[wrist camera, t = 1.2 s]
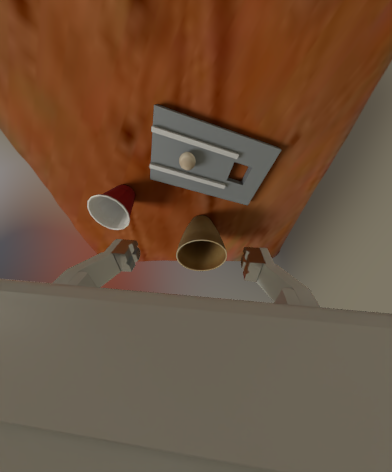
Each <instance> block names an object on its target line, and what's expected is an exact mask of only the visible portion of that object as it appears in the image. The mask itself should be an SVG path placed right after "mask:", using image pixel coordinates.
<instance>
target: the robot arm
mask: <svg viewBox="0 0 392 472" xmlns="http://www.w3.org/2000/svg"><path fill="white" fill-rule="evenodd" d="M137 246H138V243H137V241H135V240H124V239H123V240H122V239H116V240H115V241H114V242H113V243H112V244H111V245H110V246H109V247H108V248H107V249H106V251H105V252H104V253H100V254H98V255H96V256H94V257H92V258H90V259H88V260H85V261H83V262H81V263H79V264H77V265H75V266H73V267H71V268H69V269H67V270H66V271H65V272H64V273H62V274H61V275H60V276H59V277H58V278H57V279H56V280H55V281H54V282H53V283H42V282H30V281H18V280H8V279H0V472H392V314H389V313H378V312H366V311H354V310H343V309H331V308H321V307H320V306H319V304H318V302H317V301H316V299H315V297H314V296H313V294H312V293H311V291H310V289H309V288H307V287H306V286H305V285H303V284H302V283H301V282H299V281H298V280H297V279H295V278H294V277H292V276H291V275H290V274H288V273H287V272H286V271H285V270H283V269H282V268H281V267H279V266H278V265H275V264H274V262H273V260H272V258H271V256H270V253H269V251H268V249H267V248H253V247H244V250H243V252H244V255H242V258H241V266H242V269H243V270H244V271H243V276H244V280H245V281H254V282H257V283H258V284H259V286H260V287H261V288H262V289H263V290H264V292H265V293H266V294H267V295H268V296H269V297H270V299H271V300H272V301H273V302H274V303H264V302H254V301H243V300H231V299H221V298H209V297H197V296H187V295H176V294H165V293H153V292H142V291H131V290H119V289H109V288H100V287H101V286H103V285H104V284H105V283H107V282H108V281H109V280H110V279H112V278H113V277H114V276H115V275H117V274H118V273H120V272H121V271H128V272H131V271H132V270H133V268H134V267H135V262H137V261H138V260H139V258H140V249H139V248H138V247H137Z"/></svg>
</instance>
